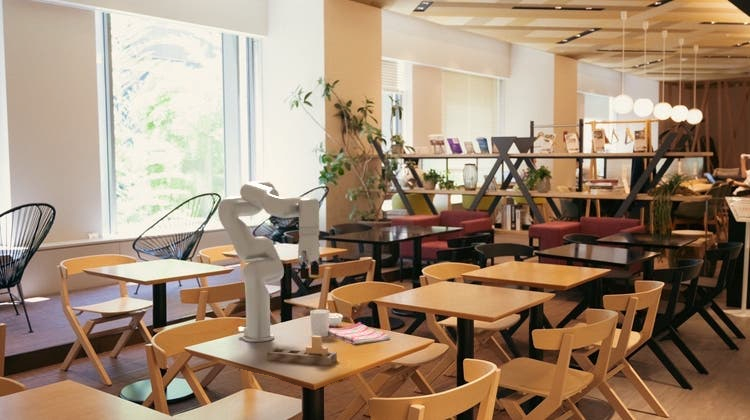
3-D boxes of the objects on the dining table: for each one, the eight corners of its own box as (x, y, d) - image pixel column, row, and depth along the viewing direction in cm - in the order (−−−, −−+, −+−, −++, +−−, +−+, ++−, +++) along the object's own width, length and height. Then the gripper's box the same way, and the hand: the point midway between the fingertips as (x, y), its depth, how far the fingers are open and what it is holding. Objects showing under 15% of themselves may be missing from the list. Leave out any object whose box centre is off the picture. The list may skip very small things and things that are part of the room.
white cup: (315, 338, 292) (314, 314, 291) (307, 334, 299) (307, 310, 298) (332, 336, 296) (332, 312, 295) (325, 332, 303) (324, 308, 302)
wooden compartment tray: (267, 360, 260) (267, 352, 260) (275, 355, 267) (275, 347, 266) (329, 366, 253) (329, 357, 253) (336, 360, 259) (336, 352, 259)
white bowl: (336, 330, 306) (336, 314, 306) (311, 327, 311) (311, 312, 310) (347, 325, 315) (347, 309, 315) (322, 322, 320) (322, 307, 320)
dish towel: (360, 329, 309) (359, 321, 309) (391, 340, 290) (391, 332, 290) (325, 335, 300) (325, 326, 299) (355, 347, 280) (355, 338, 280)
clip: (306, 361, 258) (305, 336, 257) (308, 359, 260) (308, 334, 259) (325, 362, 256) (325, 337, 255) (328, 361, 258) (327, 336, 257)
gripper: (309, 229, 279) (309, 272, 280) (290, 233, 262) (291, 280, 264) (327, 229, 277) (327, 273, 278) (309, 233, 260) (310, 281, 261)
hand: (309, 276), depth 271 cm, fingers open, 9 cm apart
